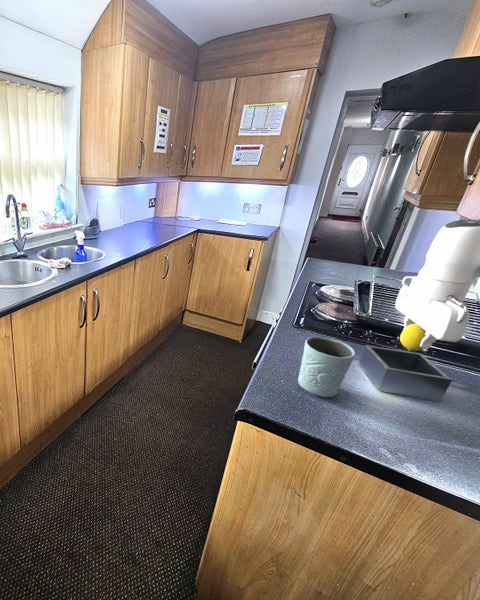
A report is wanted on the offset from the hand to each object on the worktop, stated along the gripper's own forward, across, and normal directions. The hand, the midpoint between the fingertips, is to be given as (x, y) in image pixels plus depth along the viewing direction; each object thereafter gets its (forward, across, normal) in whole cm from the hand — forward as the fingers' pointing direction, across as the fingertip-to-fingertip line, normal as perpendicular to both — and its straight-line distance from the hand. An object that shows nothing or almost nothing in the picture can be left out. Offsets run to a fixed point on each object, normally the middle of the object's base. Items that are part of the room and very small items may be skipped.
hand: (415, 340), depth 83 cm
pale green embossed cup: (+13, -10, +21) cm, 27 cm away
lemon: (+3, 0, 0) cm, 3 cm away
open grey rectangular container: (+13, 0, 0) cm, 13 cm away
